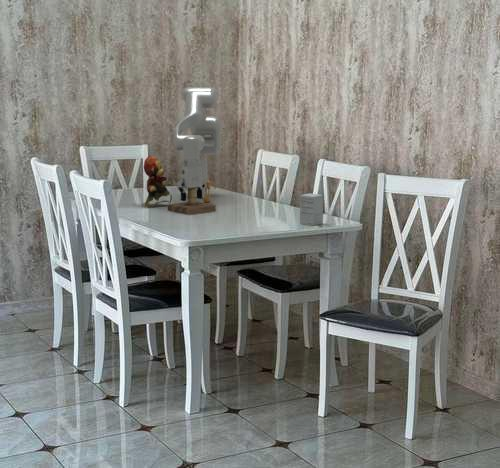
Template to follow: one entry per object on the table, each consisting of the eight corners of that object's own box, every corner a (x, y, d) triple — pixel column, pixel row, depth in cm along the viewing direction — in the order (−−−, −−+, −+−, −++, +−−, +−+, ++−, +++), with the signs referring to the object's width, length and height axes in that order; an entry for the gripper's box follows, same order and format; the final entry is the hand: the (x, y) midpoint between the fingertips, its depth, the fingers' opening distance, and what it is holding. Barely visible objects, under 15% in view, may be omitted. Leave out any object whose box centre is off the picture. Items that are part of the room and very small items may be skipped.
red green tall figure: (151, 206, 389) (142, 154, 389) (137, 210, 403) (129, 160, 403) (179, 202, 396) (171, 151, 396) (165, 206, 411) (157, 157, 411)
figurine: (213, 201, 416) (213, 178, 414) (217, 203, 410) (217, 179, 408) (197, 202, 413) (197, 178, 411) (200, 204, 408) (200, 180, 405)
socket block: (167, 210, 387) (167, 204, 386) (193, 207, 398) (193, 201, 397) (189, 214, 376) (189, 208, 375) (215, 211, 387) (215, 204, 386)
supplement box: (309, 221, 360) (309, 193, 357) (323, 223, 355) (323, 194, 353) (299, 223, 354) (299, 194, 352) (313, 225, 350) (313, 196, 347)
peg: (186, 210, 387) (186, 185, 385) (192, 210, 389) (192, 184, 387) (191, 211, 384) (191, 186, 382) (197, 210, 387) (197, 185, 385)
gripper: (182, 165, 374) (182, 202, 378) (210, 162, 386) (210, 198, 389) (171, 163, 379) (172, 200, 383) (200, 161, 391) (200, 196, 395)
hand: (191, 199), depth 386 cm, fingers open, 9 cm apart
